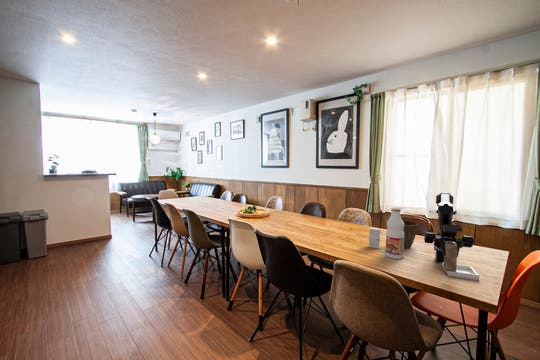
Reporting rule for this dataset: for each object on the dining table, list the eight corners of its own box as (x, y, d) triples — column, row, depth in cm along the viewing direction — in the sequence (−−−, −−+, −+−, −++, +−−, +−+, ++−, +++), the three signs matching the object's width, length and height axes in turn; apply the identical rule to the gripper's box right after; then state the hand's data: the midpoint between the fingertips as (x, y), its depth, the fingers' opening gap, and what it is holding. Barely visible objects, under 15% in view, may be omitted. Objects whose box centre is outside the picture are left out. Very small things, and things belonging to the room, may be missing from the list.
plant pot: (415, 252, 154) (416, 226, 153) (389, 247, 163) (390, 222, 162) (418, 246, 166) (419, 222, 165) (394, 241, 175) (394, 219, 174)
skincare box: (368, 247, 163) (369, 228, 162) (369, 245, 167) (370, 227, 166) (379, 248, 160) (379, 230, 159) (379, 246, 164) (380, 228, 163)
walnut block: (445, 270, 113) (446, 244, 112) (443, 267, 116) (444, 242, 116) (456, 272, 111) (457, 245, 110) (453, 268, 115) (454, 243, 114)
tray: (447, 275, 120) (448, 270, 120) (442, 266, 131) (442, 262, 131) (479, 280, 115) (479, 275, 115) (470, 270, 126) (470, 265, 126)
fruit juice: (407, 259, 142) (408, 210, 140) (391, 259, 141) (392, 210, 140) (397, 253, 151) (398, 207, 150) (382, 253, 150) (383, 207, 149)
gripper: (426, 215, 120) (429, 244, 110) (474, 219, 112) (482, 250, 103) (422, 228, 127) (425, 256, 118) (467, 232, 120) (475, 262, 110)
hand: (451, 256), depth 112 cm, fingers closed on walnut block, 4 cm apart
